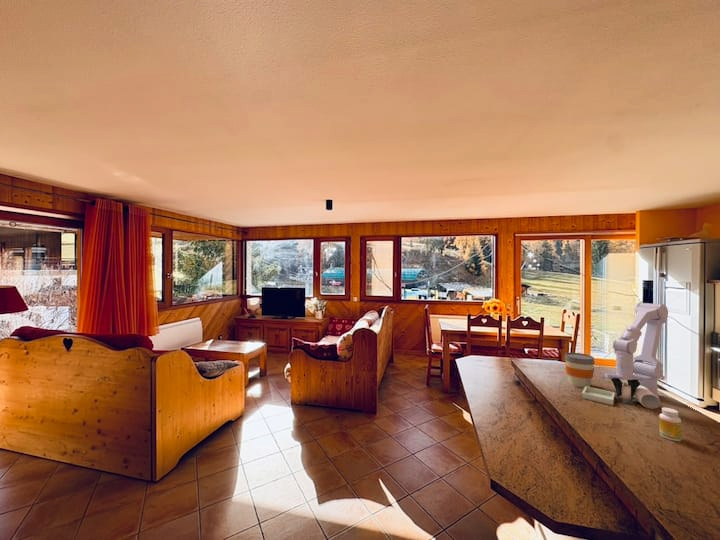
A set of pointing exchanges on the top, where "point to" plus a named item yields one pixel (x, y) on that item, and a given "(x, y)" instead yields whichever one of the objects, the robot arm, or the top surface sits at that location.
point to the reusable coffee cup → (579, 369)
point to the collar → (631, 402)
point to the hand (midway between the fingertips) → (625, 395)
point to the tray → (598, 395)
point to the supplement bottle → (670, 424)
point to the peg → (626, 392)
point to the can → (646, 397)
